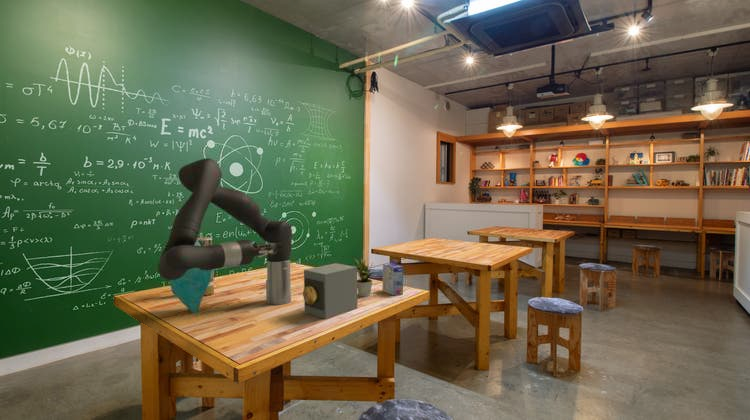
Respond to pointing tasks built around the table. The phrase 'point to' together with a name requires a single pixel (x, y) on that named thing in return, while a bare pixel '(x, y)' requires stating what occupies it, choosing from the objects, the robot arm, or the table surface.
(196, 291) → the crystal
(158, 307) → the table surface
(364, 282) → the house plant
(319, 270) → the housing
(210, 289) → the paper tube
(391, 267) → the ink cartridge box
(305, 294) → the peg
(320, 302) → the collar
